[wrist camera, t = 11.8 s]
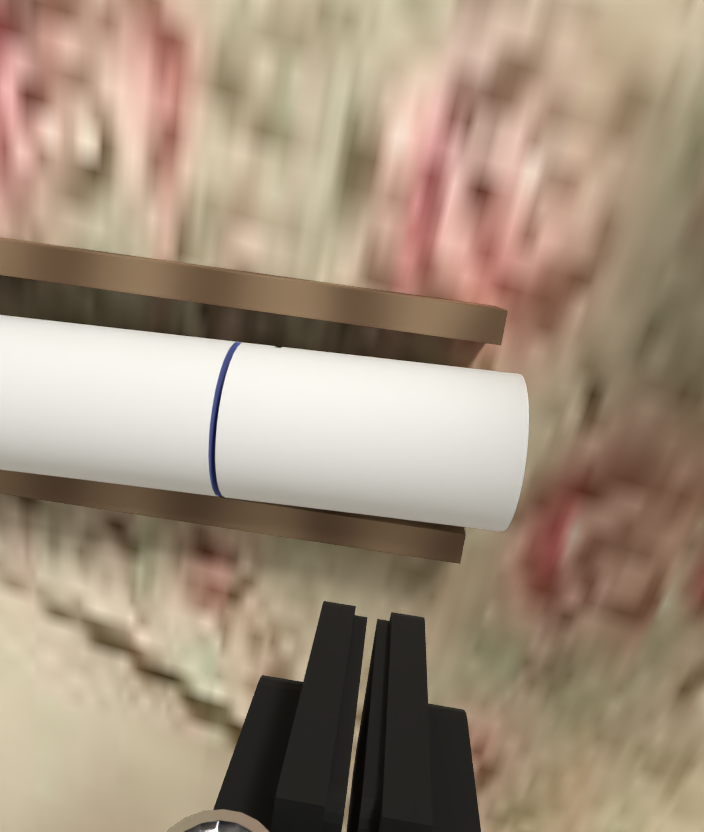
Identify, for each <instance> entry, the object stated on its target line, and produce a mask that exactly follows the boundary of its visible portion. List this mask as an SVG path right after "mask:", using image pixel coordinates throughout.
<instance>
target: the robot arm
mask: <svg viewBox="0 0 704 832" xmlns="http://www.w3.org/2000/svg"><path fill="white" fill-rule="evenodd" d="M355 608H356V606H351V605H345V604H339V603H332V602H326V601H324V602H323V605H322V609H321V614H320V618H319V622H318V626H317V630H316V634H315V638H314V642H313V646H312V650H311V654H310V658H309V662H308V666H307V670H306V674H305V678H304V682H299V681H293V680H287V679H281V678H276V677H270V676H264V675H262V676H261V678H260V680H259V682H258V685H257V688H256V691H255V693H254V696H253V699H252V702H251V705H250V708H249V710H248V713H247V716H246V719H245V722H244V725H243V727H242V730H241V733H240V736H239V739H238V742H237V744H236V747H235V750H234V753H233V756H232V759H231V761H230V764H229V767H228V770H227V773H226V775H225V778H224V781H223V784H222V787H221V790H220V792H219V795H218V798H217V801H216V804H215V807H214V809H213V810H209V811H202V812H200V813H197V814H194V815H191V816H189V817H186V818H184V819H183V820H181V821H180V822H178V823H177V824H175V825H174V826H173V827H171V828H170V829H168V831H167V832H341V830H342V823H343V816H344V809H345V801H346V794H347V786H348V777H349V769H350V760H351V752H352V743H353V735H354V726H355V718H356V709H357V701H358V692H359V684H360V675H361V666H362V658H363V649H364V641H365V632H366V624H367V617H362V616H356V615H355ZM347 832H481V828H480V820H479V812H478V804H477V796H476V787H475V779H474V771H473V763H472V755H471V747H470V738H469V730H468V722H467V716H466V712H465V711H464V710H462V709H456V708H450V707H444V706H438V705H433V704H428V692H427V666H426V641H425V620H424V618H423V617H417V616H411V615H405V614H399V613H393V612H392V613H391V616H390V621H386V620H380V619H378V620H377V625H376V631H375V637H374V643H373V649H372V656H371V662H370V668H369V674H368V681H367V687H366V693H365V700H364V706H363V712H362V718H361V725H360V731H359V737H358V743H357V750H356V756H355V763H354V770H353V779H352V788H351V797H350V806H349V815H348V824H347Z"/></svg>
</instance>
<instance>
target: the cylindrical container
mask: <svg viewBox="0 0 704 832" xmlns="http://www.w3.org/2000/svg"><path fill="white" fill-rule="evenodd" d="M528 433H529V403H528V393H527V386H526V383H525V380H524V378H523V376H522V375H520V374H517V373H508V372H499V371H490V370H482V369H473V368H464V367H455V366H446V365H438V364H429V363H420V362H411V361H402V360H394V359H385V358H376V357H367V356H358V355H350V354H341V353H332V352H323V351H314V350H306V349H297V348H288V347H281V348H279V347H277V346H270V345H262V344H253V343H244V342H235V341H226V340H218V339H209V338H200V337H191V336H182V335H173V334H165V333H156V332H147V331H138V330H129V329H121V328H112V327H103V326H94V325H85V324H77V323H68V322H59V321H50V320H41V319H32V318H24V317H15V316H6V315H0V470H8V471H16V472H25V473H33V474H41V475H49V476H57V477H66V478H74V479H82V480H90V481H98V482H106V483H114V484H122V485H130V486H138V487H146V488H154V489H162V490H170V491H178V492H186V493H194V494H202V495H210V496H218V497H220V496H224V497H226V498H234V499H242V500H250V501H258V502H267V503H275V504H283V505H291V506H299V507H308V508H316V509H324V510H332V511H340V512H349V513H357V514H365V515H373V516H381V517H389V518H397V519H405V520H413V521H421V522H429V523H437V524H445V525H453V526H461V527H469V528H477V529H484V530H492V531H500V532H502V531H505V530H506V529H507V528H508V526H509V525H510V523H511V521H512V519H513V516H514V513H515V510H516V507H517V504H518V500H519V496H520V492H521V488H522V483H523V477H524V471H525V465H526V456H527V447H528Z"/></svg>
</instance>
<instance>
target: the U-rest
mask: <svg viewBox="0 0 704 832" xmlns="http://www.w3.org/2000/svg"><path fill="white" fill-rule="evenodd" d="M0 275H4V276H12V277H19V278H26V279H33V280H40V281H47V282H54V283H61V284H68V285H76V286H83V287H90V288H97V289H104V290H111V291H118V292H125V293H133V294H140V295H147V296H154V297H161V298H168V299H175V300H182V301H190V302H197V303H204V304H211V305H218V306H225V307H232V308H239V309H246V310H254V311H261V312H268V313H275V314H282V315H289V316H296V317H303V318H311V319H318V320H325V321H332V322H339V323H346V324H353V325H360V326H368V327H375V328H382V329H389V330H396V331H403V332H410V333H417V334H425V335H432V336H439V337H446V338H453V339H460V340H467V341H474V342H481V343H489V344H496V345H501V343H502V337H503V332H504V327H505V321H506V316H507V311H506V310H504V309H501V308H499V307H496V306H491V305H484V304H476V303H469V302H462V301H455V300H448V299H440V298H433V297H426V296H419V295H411V294H404V293H397V292H390V291H382V290H375V289H368V288H361V287H354V286H346V285H339V284H332V283H325V282H317V281H310V280H303V279H296V278H289V277H281V276H274V275H267V274H260V273H252V272H245V271H238V270H231V269H224V268H216V267H209V266H202V265H195V264H187V263H180V262H173V261H166V260H158V259H151V258H144V257H137V256H130V255H122V254H115V253H108V252H101V251H93V250H86V249H79V248H72V247H65V246H57V245H50V244H43V243H36V242H28V241H21V240H14V239H7V238H0ZM0 494H7V495H13V496H20V497H27V498H33V499H40V500H46V501H53V502H59V503H66V504H72V505H79V506H86V507H92V508H99V509H105V510H112V511H118V512H125V513H131V514H138V515H145V516H151V517H158V518H164V519H171V520H177V521H184V522H190V523H197V524H204V525H210V526H217V527H223V528H230V529H236V530H243V531H249V532H256V533H263V534H269V535H276V536H282V537H289V538H295V539H302V540H308V541H315V542H322V543H328V544H335V545H341V546H348V547H354V548H361V549H367V550H374V551H381V552H387V553H394V554H400V555H407V556H413V557H420V558H426V559H433V560H440V561H446V562H453V563H459V564H460V561H461V556H462V551H463V545H464V540H465V531H464V527H461V526H453V525H445V524H437V523H429V522H421V521H413V520H405V519H397V518H389V517H381V516H373V515H365V514H357V513H349V512H340V511H332V510H324V509H316V508H308V507H299V506H291V505H283V504H275V503H267V502H258V501H250V500H242V499H234V498H226V497H224V496H220V497H218V496H210V495H202V494H194V493H186V492H178V491H170V490H162V489H154V488H146V487H138V486H130V485H122V484H114V483H106V482H98V481H90V480H82V479H74V478H66V477H57V476H49V475H41V474H33V473H25V472H16V471H8V470H0Z"/></svg>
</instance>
